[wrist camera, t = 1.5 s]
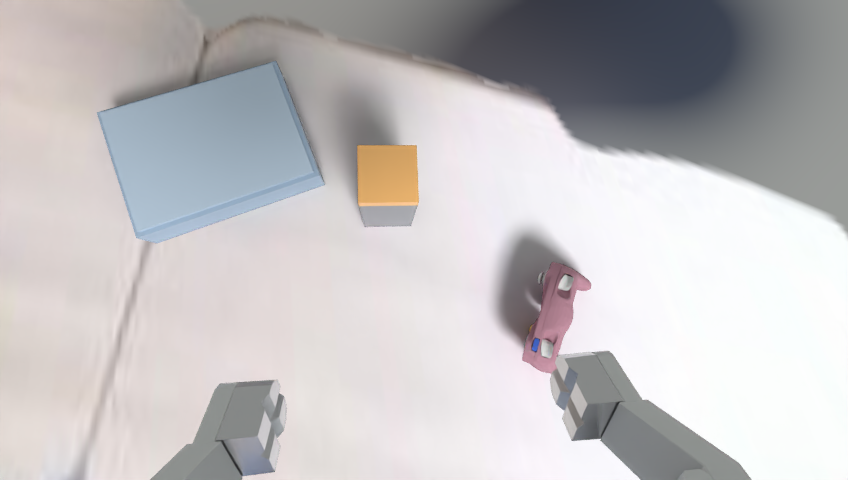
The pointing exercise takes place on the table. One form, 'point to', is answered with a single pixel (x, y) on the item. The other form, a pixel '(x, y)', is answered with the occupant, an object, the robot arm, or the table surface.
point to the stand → (208, 152)
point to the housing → (387, 184)
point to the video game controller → (553, 315)
